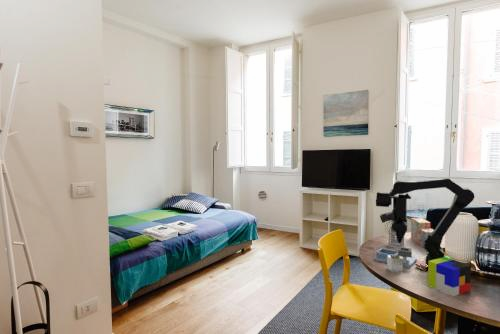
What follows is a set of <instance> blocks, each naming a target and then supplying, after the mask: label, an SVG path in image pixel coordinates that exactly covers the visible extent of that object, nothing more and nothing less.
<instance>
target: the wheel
mask: <svg viewBox="0 0 500 334" xmlns="http://www.w3.org/2000/svg"><path fill="white" fill-rule="evenodd" d="M397 251H398V255H399V256H404V257H412V254H413V253H412V252H413V251H412V248H411V247H405V248H404V247H398V248H397ZM412 258H413V257H412Z"/></svg>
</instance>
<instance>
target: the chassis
mask: <svg viewBox="0 0 500 334" xmlns="http://www.w3.org/2000/svg"><path fill="white" fill-rule="evenodd" d="M375 254H376V256H375V257H374V260H375V261H378V262H383V263H386V264H387V256H390V254H397V255H398V250H395V249H391V248H390V249H389V248H385V247H381V248H380V249H378V250H377V251H376V252H375ZM400 257H401V258H403V267H405V268H407V269H408V268H409V269H411V268H412V267H414V265H415V263H416V262H417V261H418V260H417V258H416V257H404V256H400Z"/></svg>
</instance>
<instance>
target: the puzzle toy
mask: <svg viewBox="0 0 500 334" xmlns="http://www.w3.org/2000/svg"><path fill="white" fill-rule="evenodd" d="M471 270H472V265H471V264H469V263H465V262H462V261H459V260H455V259H453V258H449V257H448V256H447V257H446V256H445V257H443V258H439V259H435V260H430V261H428V268H427V286H429V287H431V288H434V289H435V290H438V291H439V292H442V293H444V294H447V295H449V296H450V297H455V296H459V295H461V294H464V293H467V292H470V291H471V274H472V273H471V272H472V271H471Z"/></svg>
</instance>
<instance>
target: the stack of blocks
mask: <svg viewBox="0 0 500 334" xmlns="http://www.w3.org/2000/svg"><path fill="white" fill-rule="evenodd" d="M431 227H432V223H431V222H430V221H428V220H427V219H425V218H423V217H410V238H411V239H412V240H413V241H414V242H416V243H417V244H418V245H420V246H421V247H422V248H423V249H425V248H424V244H423V241H424V240H423V238H424V237H425V236H426V234H427V232H428V231H429V232H430V233H431V232H433V231H434V230H435V229H433V228H431Z"/></svg>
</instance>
